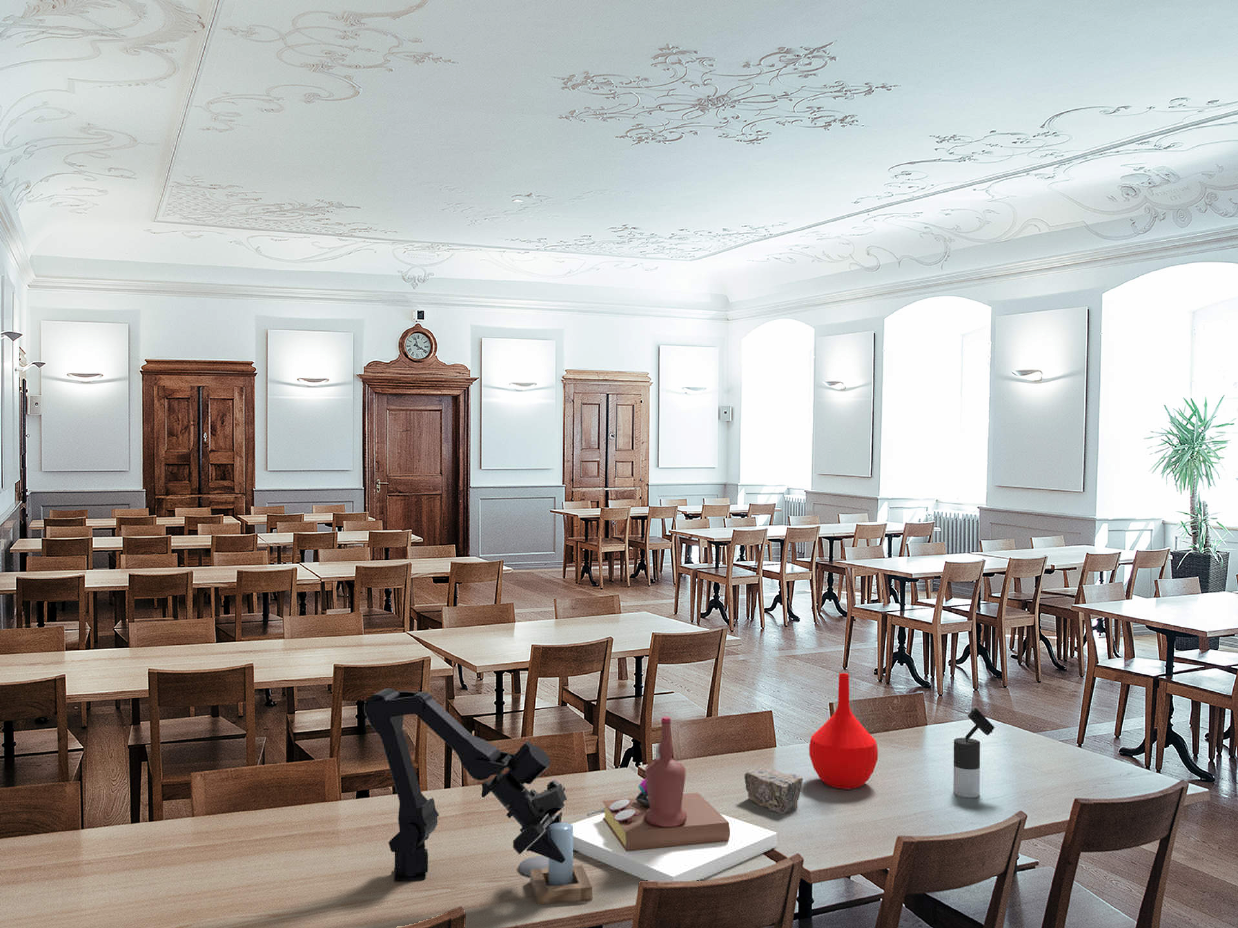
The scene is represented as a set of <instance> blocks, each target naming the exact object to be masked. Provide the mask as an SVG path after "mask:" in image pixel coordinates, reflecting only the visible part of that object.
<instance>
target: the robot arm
mask: <svg viewBox="0 0 1238 928" xmlns="http://www.w3.org/2000/svg"><path fill="white" fill-rule="evenodd" d="M365 700H366V701H365V703H364V704H363V711H364V714H365V716H366V719H367V721H368V723H369V725H370V727H371V728H372V729H373V730H374V732H375V733H376V734H377V735H378V736H379V737H380V739H381V743H382V746H383V750H384V753H385V758H386V761H387V764H388V767H389V770H390V773H391V777H392V781H393V784H394V787H395V791H396V794H397V797H398V800H399V801H398V802H399V807H398V814H397V815H398V816H397V819H398V820H397V821H398V822H397V823H398V828H399V829H398V830H399V832H397V834H395V835H394V836H393V837H392V838H391V839H390V840H389V841H388V845H389V848H390V852H391V853H394V867H393V881H394V882H401V881H402V882H403V881H414V880H425V879H426V878H427V877H426V876H427V873H428V872H429V851H428V849H427V848H426V841H427V840H429V837H430V834H432V833H433V832H434V831H435V830H436V828H437V826H438V817H439V816H440V814H439V813H438V811H437V809H436V805H435V803H436V802H435V799H434V797H431V798H428V799H427V798H426V797H425V796H424V794H423V793H422V791H421V787H420V784H419V781H418V778H417V773H416V770H415V767H414V764H413V760H412V757H411V753H410V750H409V746H408V743H407V740H406V737H405V733H404V729H403V725H404V716H407V715H415V716H416V717H418V718H419V719H420V720H421V721H422V722H423V723H424V724H425V725H426V726H428V727H429V728H430V729H431V730H432V732H434V733H435V734H436V735H437V736H438V737H439V738H440V739H441V740H443V742H445V743H446V745H448V746H449V747H450V748H451V749H452V750H453V751H454V752H455V753H456V755H457V757H458V759H459V761H460V762H459V763H460V764H461V765H462V767H463V768H464V770H465V771H466V772H467V773H468V774H469V776H470V777H471V778H472V779H473V780H475V781H484V782H483V783H481V787H482V788H481V798H483V799H484V798H485V797H487V796H488V795H489V793H492V794H493V795H494V797H495V798H496V799H497V801H498V802H500V803H501V805H502V806H503V807H504V808H505V809H506V810H507V813H506V815H505V816H507V818H508V819H511V818H512V817H513V819H514V820H515V821H516V822H517V824H519V825H520V826H521V828H520V829H519V832H520V833H519V834H517V836H516V837H515V838H514V839H513V840H512V848H513V850H514V851H515V852H516V853H517V854H518V855H522V853H523V852H524V851H527V852H531V853H535V854H538V855H539V856H545V857H548V858H550V859H552V860H555V861H557V862H559V863H563V862H564V861H565V858H564V856H563V854H562V853H561V851H560V850H559V849H558V847H557V846H556V844H555V843H554V841H553V840H552V839H551V836H550V827H549V826H550V825H551V824H554V823H562V815H563V811H561V810H562V809H563V808H564V807H565V803H564V802H565V801H567V799H568V798H567V796H566V794H565V790H566V787H565V786H563V785H562V783H559V782H558V781H557V780H556V779H554V780H552V781H551V780H550V781H549V783H547V785H546V789H545V790H543V791H542V792H539V793H538V792H537V791H536V790H535V789H531V790H528V788H527V787H526V786H525V784H527V785H531V784H533V782H534V781H535V780H537V778H538V777H540V776H541V775H542V774H543V773H544V772H545V771H546V770H547V769H548V768H549V767H550V765H551V760H550V758H549V756H548V755H547V753H546V751H545V750H544V749H542V748H540V747H539V746H537V745H534V744H532V743H531V742H530V740H527V741H526V742H525V743H524V744H523V745H521V746H520V748H519V750H518V751H517V752H516V753H510V752H506V751H501V750H499V748H497V747H496V746H494V745H493V744H492V743H490V742H489V741H487V740H486V739H484V738H480V737H478V736H475V735H473V734H472V733H471V732H470V731H468V730H467V729H466V728H465V727H464V726H463V725H462V724H461V723H459V721H457V720H456V718H454V717H453V716H452V715H451V714H450V713H449V712H448V711H447V710H446V709H444V708H443V707H442V705H440V704H439V703H438V702H437V701H436V700H435V699H434V698H433V696H432V695H431V693H429V692H427V691H417V692H416V691H407V690H405V691H397V690H396V689H394V688H389V687H388V688H384V689H383V690H380V691H378V692H376V693H374V694H372V695H370V696H369V697H368V698H367V699H365ZM506 768H508V770H507V772H505V773H503V771H505V770H506ZM494 775H495V776H494ZM491 776H494V777H492V779H490V780H487V779H489V778H490V777H491ZM559 811H560V812H559ZM557 813H558V814H557Z"/></svg>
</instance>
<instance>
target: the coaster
mask: <svg viewBox="0 0 1238 928" xmlns="http://www.w3.org/2000/svg"><path fill="white" fill-rule="evenodd" d="M518 867H519V868H518V869H519V872H520V873H522V874H523V875H525V876H527V877H530V870H532V869H545V868H548V857H545V856H543V855H539V856H538V855H537V856H531V857H528V858H526V859H524V860H522V861H520V862H519V866H518Z"/></svg>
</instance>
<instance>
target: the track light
mask: <svg viewBox="0 0 1238 928" xmlns="http://www.w3.org/2000/svg"><path fill="white" fill-rule="evenodd" d="M967 717H968V718H969V720H971V722H972V723H973V724H974V726H973V727H972V729H970V731H969V732H968V733H967V734H966V735H965V736H964V737H957V738H956V737H955V738H954V739H953V794H955V796H958V797H963V798H977V797H980V792H981V791H980V790H981V789H980V787H981V786H980V782H981V781H980V780H981V775H980V774H981V767H980V766H981V742H980V741H979V740H978V739H975V738H972V736H973V734H975V733H976V732H977V730H978V729H979V730H980V731H981V732H982V733H983V734H984V735H986V736H990V734H991V733H993V730H994V729H995V728H996V727H995V726H994V725H993V724H992V723H991V722H990V721H989V719H988V718H986V716H985V715H983V714H982V712H980V710H979V709H978V708H977V707H974V708H973V709H972V710H971V711H970V712H969V714H968V715H967Z"/></svg>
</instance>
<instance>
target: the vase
mask: <svg viewBox="0 0 1238 928" xmlns="http://www.w3.org/2000/svg"><path fill="white" fill-rule="evenodd" d="M837 693H838V695H837V700H838V701H837V707H836V708H835V711H834V713H833V714H832V715H831V716H830V717H829V718H828V719H827V721H825V723H824V724H823V725H821V727H820V728H819V729H817V730H816V731H815V732H814V733H813V734H812V735H811V737H810V742H809V746H808V751H809V753H808V755H809V758H810V761H811V763H812V767H813V770H814V772H815V773H816V774H817V776H818V778H819V779H820V780H821V781H822V782H823V783H824V784H825V785H827V786H829V787H831V788H834V787H835V789H840V788H841V790H854V789H858V788H860V787H862V786H863V785H864V784H866V782H868V781H869V779H870V777H871V776H872V774H873V773H874V770H875V767H876V765H877V762H878V759H879V758H878V757H879V756H878V754H879V751H878V750H879V748H878V745H877V741H876V739H875V738H874V737H873V736H872V735H871V734H870V733H869V732H868V731H867V730H866V728H865V727H864V726H863V725H862V723H861V722H860V720H858V719H857V718H856V716H855V715H854V714H853V712H852V710H851V707H850V706H851V705H850V674H849V673H846V672H840V673H838V690H837Z"/></svg>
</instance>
